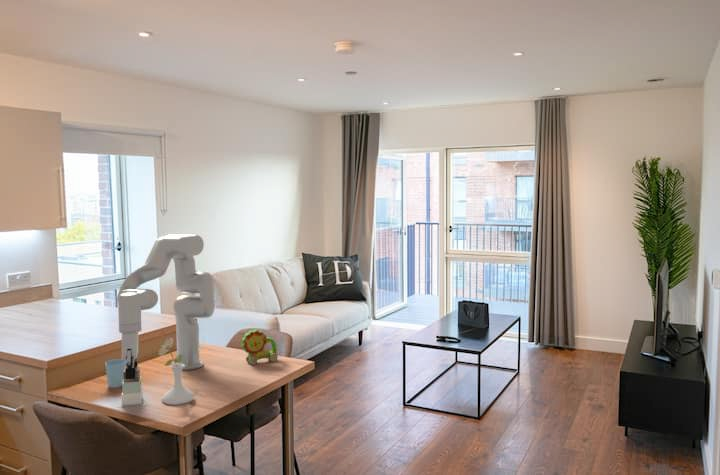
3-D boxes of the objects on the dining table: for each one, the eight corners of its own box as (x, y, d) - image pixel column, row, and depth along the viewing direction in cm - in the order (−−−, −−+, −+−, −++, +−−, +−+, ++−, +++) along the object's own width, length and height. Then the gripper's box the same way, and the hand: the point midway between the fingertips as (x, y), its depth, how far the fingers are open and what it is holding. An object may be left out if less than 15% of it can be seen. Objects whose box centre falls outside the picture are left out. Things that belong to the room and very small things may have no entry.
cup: (114, 392, 217) (114, 365, 217) (101, 389, 221) (100, 363, 220) (131, 386, 224) (130, 360, 223) (117, 383, 228) (116, 358, 227)
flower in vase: (181, 394, 216) (179, 330, 214) (200, 400, 209) (199, 334, 207) (151, 404, 205) (149, 337, 203) (171, 412, 198) (169, 342, 196)
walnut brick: (139, 377, 208) (139, 366, 208) (138, 381, 203) (138, 370, 203) (125, 378, 207) (124, 367, 206) (123, 382, 202) (123, 371, 202)
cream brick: (123, 399, 208) (123, 388, 208) (142, 397, 210) (142, 386, 209) (121, 405, 202) (121, 394, 201) (141, 403, 203) (140, 392, 203)
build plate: (119, 400, 209) (119, 397, 209) (148, 397, 212) (148, 395, 212) (115, 410, 200) (115, 407, 199) (145, 407, 202) (145, 404, 202)
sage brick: (124, 388, 207) (123, 377, 207) (141, 386, 209) (141, 376, 209) (122, 394, 202) (122, 383, 201) (140, 392, 204) (140, 381, 203)
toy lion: (273, 358, 263) (273, 326, 261) (278, 361, 258) (277, 328, 257) (240, 363, 255) (240, 330, 253) (244, 366, 250) (244, 332, 249)
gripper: (122, 322, 211) (123, 368, 212) (115, 333, 194) (117, 384, 195) (143, 321, 213) (144, 367, 214) (139, 332, 196) (140, 382, 198)
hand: (131, 374), depth 205 cm, fingers open, 6 cm apart
